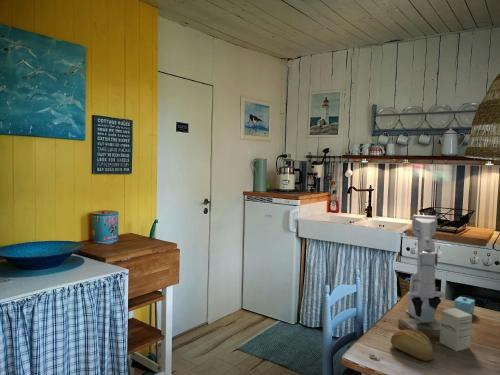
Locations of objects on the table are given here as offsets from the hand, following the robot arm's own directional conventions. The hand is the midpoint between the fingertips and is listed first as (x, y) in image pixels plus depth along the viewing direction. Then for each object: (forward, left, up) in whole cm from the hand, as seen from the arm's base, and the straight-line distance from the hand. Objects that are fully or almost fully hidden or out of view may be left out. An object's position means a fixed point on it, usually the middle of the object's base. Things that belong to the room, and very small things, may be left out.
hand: (424, 315), depth 155 cm
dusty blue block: (0, 0, -1) cm, 1 cm away
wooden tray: (0, 0, -6) cm, 6 cm away
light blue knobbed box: (-14, +27, -7) cm, 31 cm away
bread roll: (+16, -14, -7) cm, 22 cm away
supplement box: (+12, +5, -7) cm, 15 cm away
